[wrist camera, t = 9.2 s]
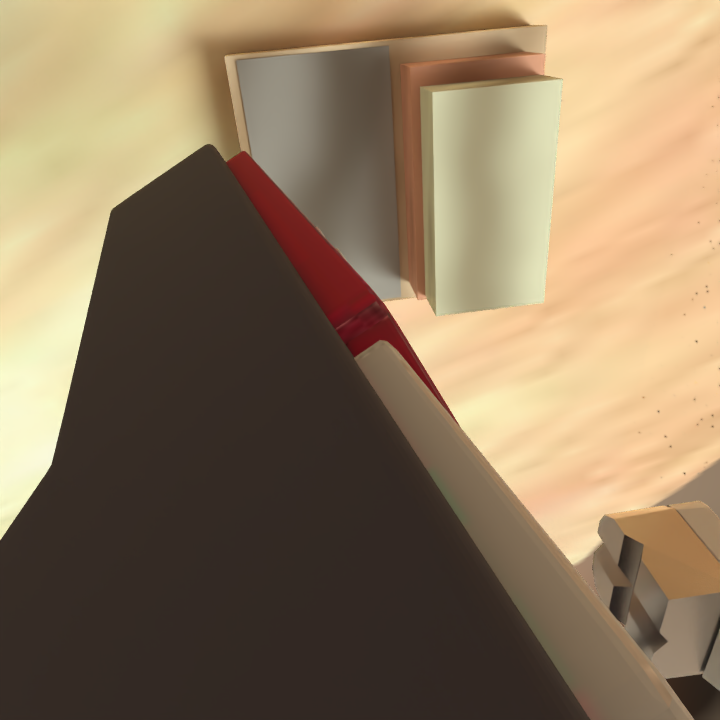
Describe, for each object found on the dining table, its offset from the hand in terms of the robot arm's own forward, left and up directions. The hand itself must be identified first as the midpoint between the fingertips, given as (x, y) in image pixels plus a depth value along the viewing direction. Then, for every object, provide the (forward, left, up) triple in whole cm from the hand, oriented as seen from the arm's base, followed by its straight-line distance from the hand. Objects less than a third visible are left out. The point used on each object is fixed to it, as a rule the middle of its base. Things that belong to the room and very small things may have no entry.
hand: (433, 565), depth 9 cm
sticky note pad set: (-3, 0, -26) cm, 26 cm away
